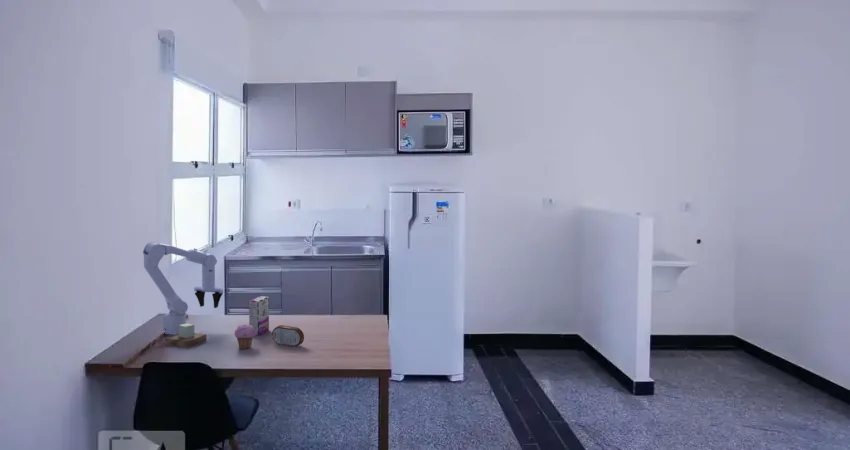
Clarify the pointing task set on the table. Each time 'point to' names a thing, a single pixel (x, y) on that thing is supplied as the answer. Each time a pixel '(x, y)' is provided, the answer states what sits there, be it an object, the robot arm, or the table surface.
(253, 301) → the candy bar box
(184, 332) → the sage block
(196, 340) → the brown flat block
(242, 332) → the cupcake
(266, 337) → the table surface
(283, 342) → the tin
